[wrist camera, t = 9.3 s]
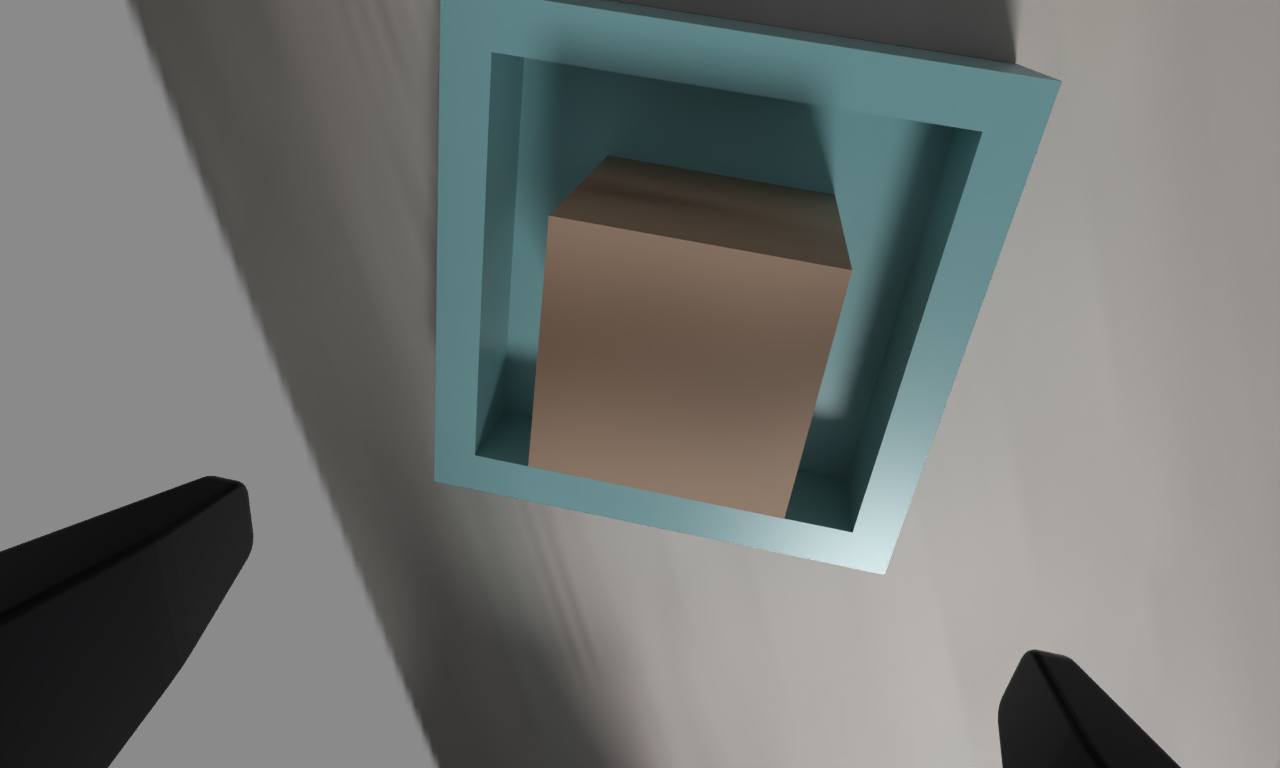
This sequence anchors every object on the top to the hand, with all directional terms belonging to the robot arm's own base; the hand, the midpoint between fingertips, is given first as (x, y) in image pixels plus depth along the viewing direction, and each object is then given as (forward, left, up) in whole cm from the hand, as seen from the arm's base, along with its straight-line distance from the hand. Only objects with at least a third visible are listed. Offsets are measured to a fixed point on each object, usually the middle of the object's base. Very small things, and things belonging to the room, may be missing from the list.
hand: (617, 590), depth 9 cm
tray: (0, 0, -12) cm, 12 cm away
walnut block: (0, 0, -11) cm, 11 cm away
